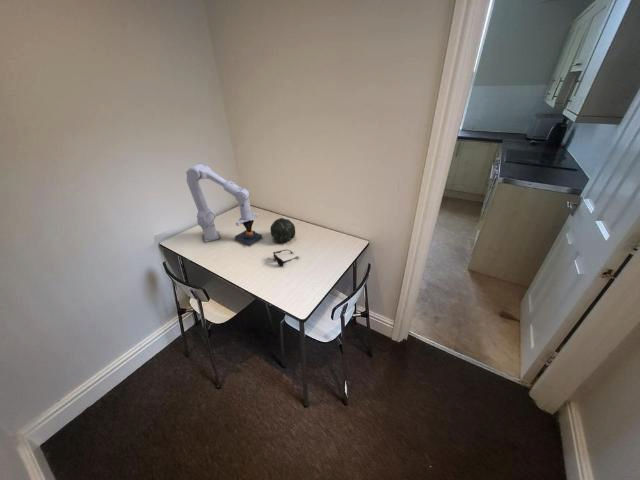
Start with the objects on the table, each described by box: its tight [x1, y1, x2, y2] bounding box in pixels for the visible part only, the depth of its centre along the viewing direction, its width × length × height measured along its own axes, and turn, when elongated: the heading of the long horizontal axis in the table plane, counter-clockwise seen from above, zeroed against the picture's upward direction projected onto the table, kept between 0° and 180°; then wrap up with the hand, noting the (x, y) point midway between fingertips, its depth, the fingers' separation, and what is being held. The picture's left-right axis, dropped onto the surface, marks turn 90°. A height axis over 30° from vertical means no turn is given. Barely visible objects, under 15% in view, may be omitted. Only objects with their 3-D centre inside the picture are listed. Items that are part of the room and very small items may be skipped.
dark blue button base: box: [234, 229, 263, 247], centre depth 152 cm, size 12×10×4 cm
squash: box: [269, 217, 296, 243], centre depth 150 cm, size 14×15×15 cm
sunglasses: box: [272, 249, 299, 267], centre depth 135 cm, size 10×12×5 cm
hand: (249, 231), depth 149 cm, fingers closed, pressing on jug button
